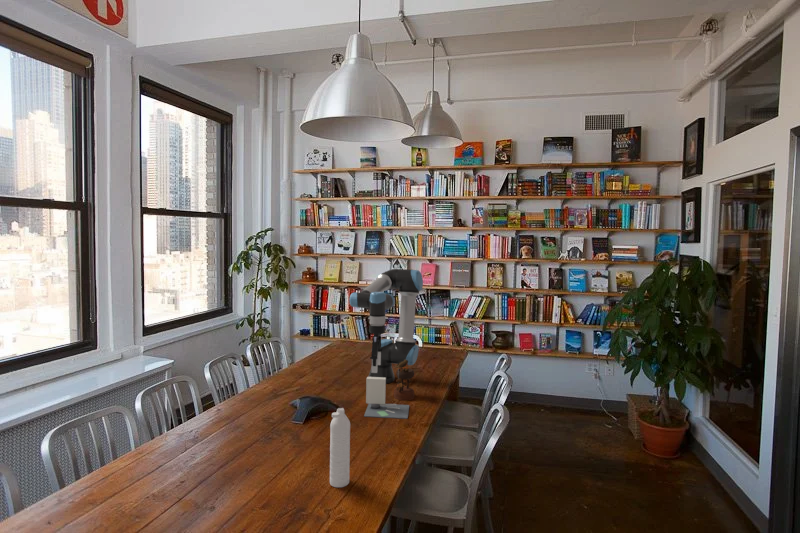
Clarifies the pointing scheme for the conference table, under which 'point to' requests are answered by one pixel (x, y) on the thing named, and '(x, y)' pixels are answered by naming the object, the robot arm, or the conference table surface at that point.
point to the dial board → (388, 411)
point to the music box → (404, 382)
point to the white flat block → (376, 392)
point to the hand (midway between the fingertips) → (376, 368)
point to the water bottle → (339, 449)
